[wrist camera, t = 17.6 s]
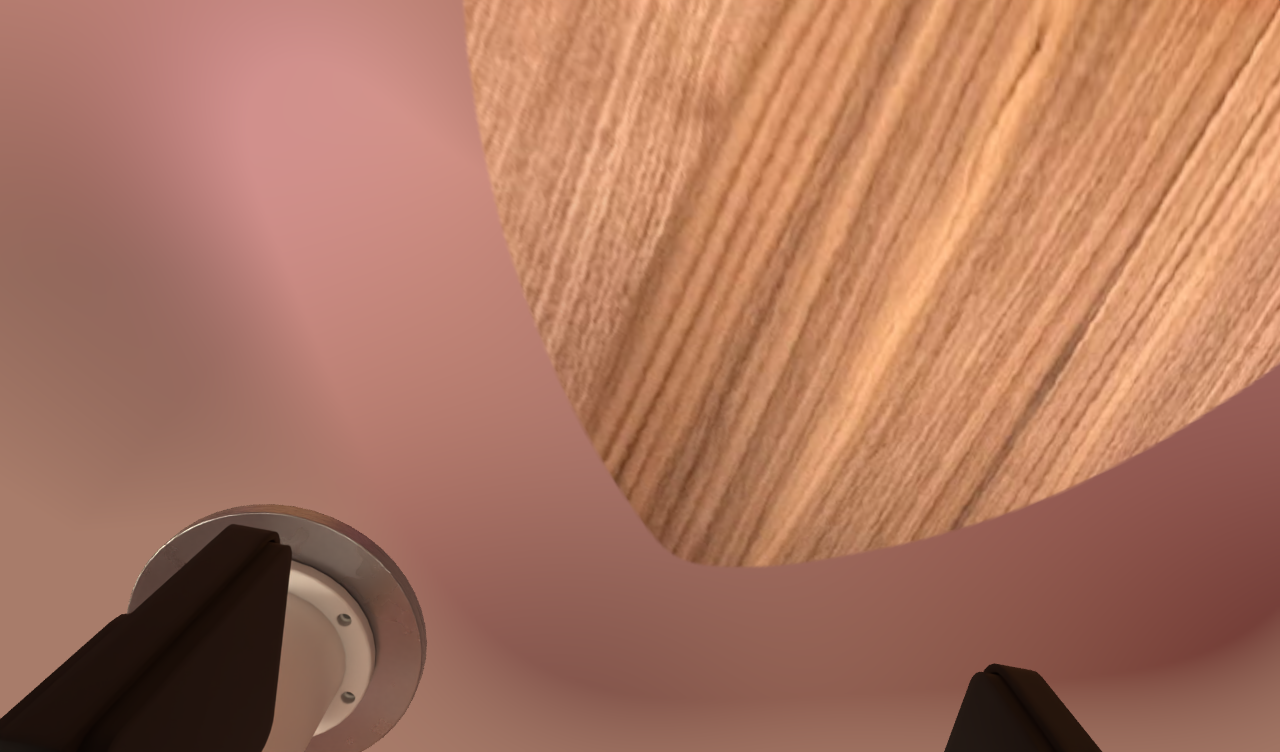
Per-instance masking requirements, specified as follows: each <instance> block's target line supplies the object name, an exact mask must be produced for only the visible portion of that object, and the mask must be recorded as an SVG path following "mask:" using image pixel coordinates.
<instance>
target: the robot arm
mask: <svg viewBox="0 0 1280 752" xmlns="http://www.w3.org/2000/svg"><path fill="white" fill-rule="evenodd" d="M375 653H376V651H375V645H374V638H373V633H372V631H371V628H370V625H369V623H368V620H367V618H366V616H365V614H364V613H363V611H362V610H361V608H360V606H359V605H358V603H357V602H356V601H355V600H354V599H353V597H352V596H351V595H350V594H349V593H348V592H347V591H346V590H345V589H344V588H343V587H342V586H340V585H339V584H338V583H337V582H335V581H334V580H333V579H332V578H330V577H329V576H327V575H325V574H323V573H321V572H320V571H318V570H316V569H314V568H312V567H310V566H307V565H304V564H301V563H298V562H295V561H292V550H291V547H290V546H289V545H284V544H280V537H279V534H278V533H277V532H276V531H271V530H265V529H260V528H254V527H249V526H243V525H238V524H231V525H229V526H227V527H226V528H225V529H224V530H223V531H222V532H220V533H219V534H218V535H217V536H216V537H215V538H214V539H213V540H212V541H210V542H209V543H208V544H207V545H206V546H205V547H204V548H203V549H202V550H201V551H199V552H198V553H197V554H196V555H195V556H194V557H193V558H192V559H191V560H189V561H188V562H187V563H186V564H185V565H184V566H183V567H182V568H181V569H179V570H178V571H177V572H176V573H175V574H174V575H173V576H172V577H171V578H169V579H168V580H167V581H166V582H165V583H164V584H163V585H162V586H161V587H160V588H158V589H157V590H156V591H155V592H154V593H153V594H152V595H151V596H150V597H148V598H147V599H146V600H145V601H144V602H143V603H142V604H141V605H140V606H138V607H137V608H136V609H135V610H134V611H133V612H132V613H127V614H122V615H120V616H118V617H117V618H115V619H114V620H112V621H111V622H110V623H109V624H107V625H106V626H105V627H104V628H103V629H102V630H101V631H99V632H98V633H97V634H96V635H95V636H94V637H93V638H92V639H90V640H89V641H88V642H87V643H86V644H85V645H84V646H82V647H81V648H80V649H79V650H78V651H77V652H76V653H75V654H74V655H72V656H71V657H70V658H69V659H68V660H67V661H66V662H64V664H62V665H61V666H60V667H59V668H58V669H57V670H55V671H54V672H53V673H52V674H51V675H50V676H49V677H47V678H46V679H45V680H44V681H43V682H42V683H41V684H40V685H38V686H37V687H36V688H35V689H34V690H33V691H32V692H31V693H29V694H28V695H27V696H26V697H25V698H24V699H23V700H21V701H20V702H19V703H18V704H17V705H16V706H15V707H13V708H12V709H11V710H10V711H9V712H8V713H7V714H6V715H4V716H3V717H2V718H1V719H0V752H304V751H305V749H306V748H307V746H308V744H309V742H310V740H311V738H312V737H313V736H316V735H319V734H321V733H324V732H326V731H328V730H330V729H331V728H333V727H335V726H336V725H338V724H340V723H341V722H342V721H343V720H344V719H345V718H346V717H348V716H349V715H350V714H351V713H352V712H353V711H354V709H355V708H356V707H357V705H358V704H359V702H360V701H361V700H362V698H363V696H364V694H365V692H366V690H367V688H368V686H369V684H370V681H371V678H372V674H373V671H374V666H375ZM944 752H1102V751H1101V750H1100V749H1099V747H1098V746H1097V745H1096V744H1095V742H1094V741H1093V740H1092V739H1091V737H1090V736H1089V735H1088V734H1087V732H1086V731H1085V730H1084V729H1083V727H1082V726H1081V725H1080V724H1079V722H1077V720H1076V719H1075V717H1074V716H1073V715H1072V714H1071V713H1070V711H1069V710H1068V709H1067V708H1066V706H1065V705H1064V704H1063V703H1062V701H1061V700H1060V699H1059V698H1058V697H1057V695H1056V694H1055V693H1054V691H1053V690H1052V689H1051V688H1050V686H1049V685H1048V684H1047V683H1046V681H1045V680H1044V679H1043V678H1042V677H1041V676H1040V675H1039V674H1038V673H1037V672H1035V671H1032V670H1027V669H1021V668H1015V667H1010V666H1005V665H1000V664H991V665H989V666H988V667H987V668H986V669H985V670H984V672H978V673H976V674H975V675H974V676H973V677H972V679H971V681H970V683H969V686H968V689H967V691H966V694H965V697H964V699H963V702H962V705H961V708H960V710H959V713H958V716H957V718H956V721H955V724H954V727H953V729H952V732H951V735H950V738H949V740H948V743H947V746H946V748H945V751H944Z"/></svg>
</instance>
